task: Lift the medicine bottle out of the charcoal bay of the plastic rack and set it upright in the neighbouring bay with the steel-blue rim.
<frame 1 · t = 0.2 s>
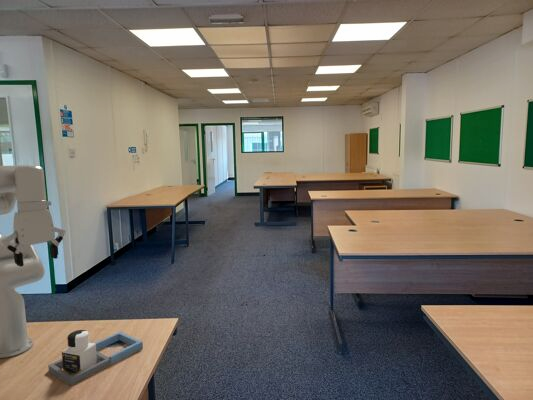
hand: (37, 261, 112), 36 cm above the table, tool pointing down, fingers open, 9 cm apart
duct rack: (98, 359, 123), on the table
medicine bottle: (80, 368, 118), resting in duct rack
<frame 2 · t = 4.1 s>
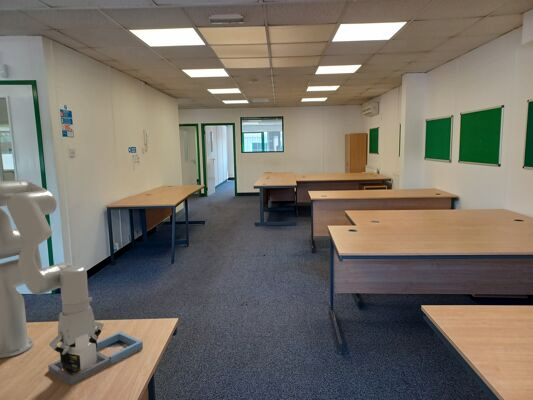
hand: (79, 357, 117), 4 cm above the table, tool pointing down, fingers closed on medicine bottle, 8 cm apart
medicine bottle: (80, 368, 118), resting in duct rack, touching gripper
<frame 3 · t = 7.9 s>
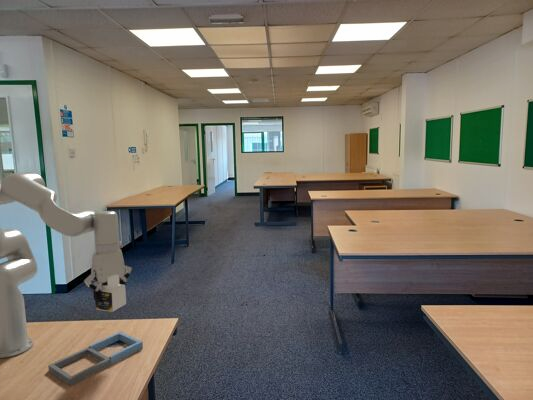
hand: (110, 296, 125), 20 cm above the table, tool pointing down, fingers closed on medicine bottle, 8 cm apart
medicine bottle: (111, 307, 126), point 16 cm above the table, touching gripper
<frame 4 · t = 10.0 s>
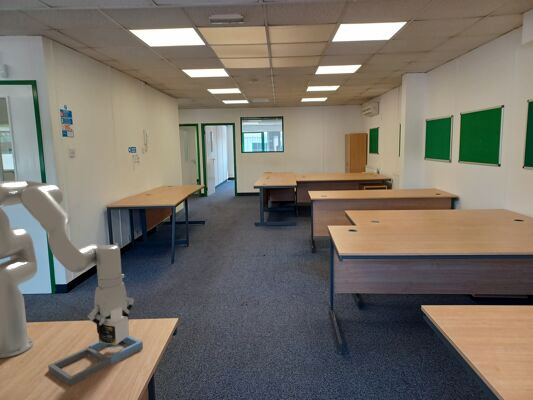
hand: (113, 329, 127), 8 cm above the table, tool pointing down, fingers closed on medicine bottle, 8 cm apart
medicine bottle: (114, 339, 127), point 4 cm above the table, touching gripper
when the fingers open (5 cm above the table, at t = 11.8 s): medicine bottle drops 1 cm, resting in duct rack.
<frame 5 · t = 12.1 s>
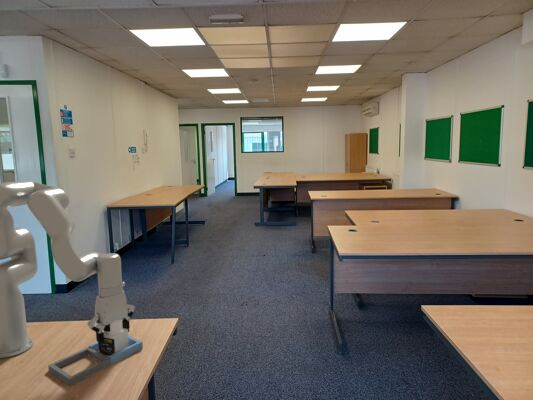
hand: (113, 336, 127), 5 cm above the table, tool pointing down, fingers open, 9 cm apart
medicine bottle: (114, 351, 128), resting in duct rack
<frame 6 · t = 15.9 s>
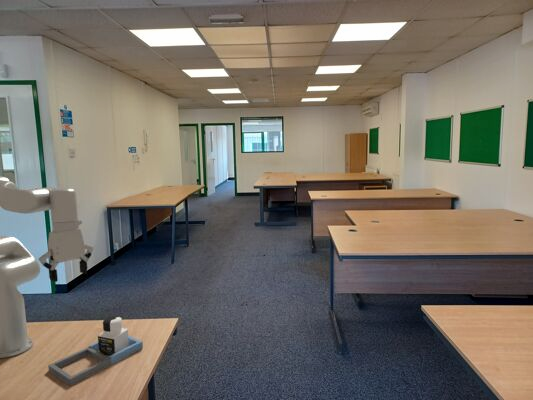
hand: (69, 276, 121), 28 cm above the table, tool pointing down, fingers open, 9 cm apart
nothing on the table moved.
at the end: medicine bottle 0.1 cm from the target spot on the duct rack, point 0.0 cm above the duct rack's base; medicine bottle tilted 0°; the gripper is holding nothing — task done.
